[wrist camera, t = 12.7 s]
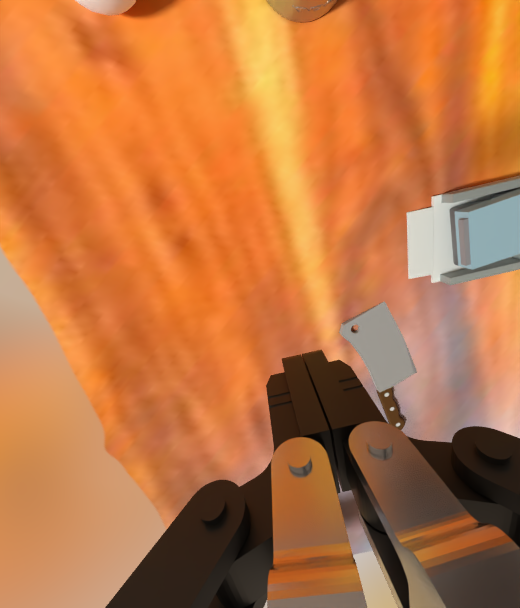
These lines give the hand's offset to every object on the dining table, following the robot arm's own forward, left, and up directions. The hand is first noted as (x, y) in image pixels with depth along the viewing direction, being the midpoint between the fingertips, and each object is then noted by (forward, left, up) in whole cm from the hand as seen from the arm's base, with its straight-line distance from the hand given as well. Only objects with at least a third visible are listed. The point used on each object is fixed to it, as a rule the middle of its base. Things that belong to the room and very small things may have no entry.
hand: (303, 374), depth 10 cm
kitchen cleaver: (+23, +16, -28) cm, 39 cm away
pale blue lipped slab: (+3, +29, -27) cm, 39 cm away
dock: (+4, +27, -27) cm, 38 cm away
